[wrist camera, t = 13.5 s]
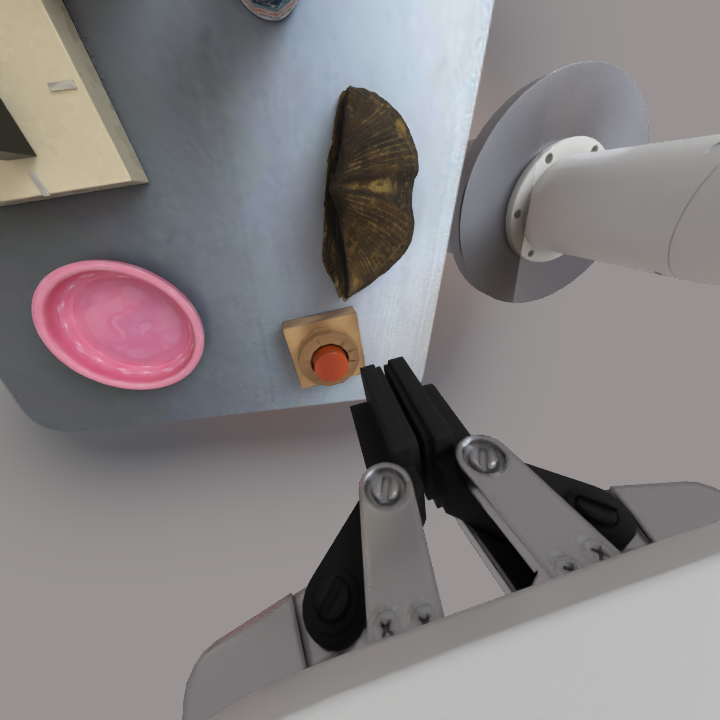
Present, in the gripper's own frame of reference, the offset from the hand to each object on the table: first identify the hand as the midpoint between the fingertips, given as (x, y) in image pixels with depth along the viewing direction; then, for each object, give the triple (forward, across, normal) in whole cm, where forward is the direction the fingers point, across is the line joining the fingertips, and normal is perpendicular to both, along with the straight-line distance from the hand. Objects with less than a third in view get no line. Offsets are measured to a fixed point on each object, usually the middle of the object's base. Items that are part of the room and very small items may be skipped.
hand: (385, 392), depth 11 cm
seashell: (+21, -5, -5) cm, 22 cm away
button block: (+21, +2, +9) cm, 23 cm away
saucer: (+21, +19, +1) cm, 28 cm away
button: (+18, +2, +9) cm, 20 cm away
